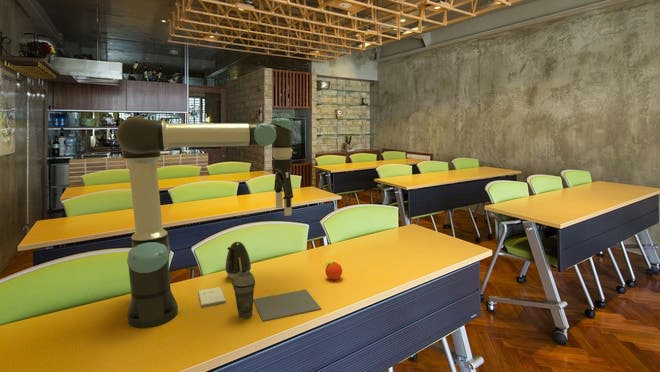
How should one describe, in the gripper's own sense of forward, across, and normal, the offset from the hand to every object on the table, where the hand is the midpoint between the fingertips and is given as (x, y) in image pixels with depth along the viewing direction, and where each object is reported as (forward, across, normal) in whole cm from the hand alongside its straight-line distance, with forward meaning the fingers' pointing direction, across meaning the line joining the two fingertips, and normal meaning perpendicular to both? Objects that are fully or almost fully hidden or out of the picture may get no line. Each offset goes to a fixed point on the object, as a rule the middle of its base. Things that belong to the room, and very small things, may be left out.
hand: (283, 211), depth 149 cm
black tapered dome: (+28, +8, +18) cm, 34 cm away
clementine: (+28, -9, -18) cm, 34 cm away
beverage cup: (+28, -25, +20) cm, 43 cm away
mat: (+28, -23, +6) cm, 37 cm away
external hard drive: (+29, -8, +30) cm, 42 cm away
